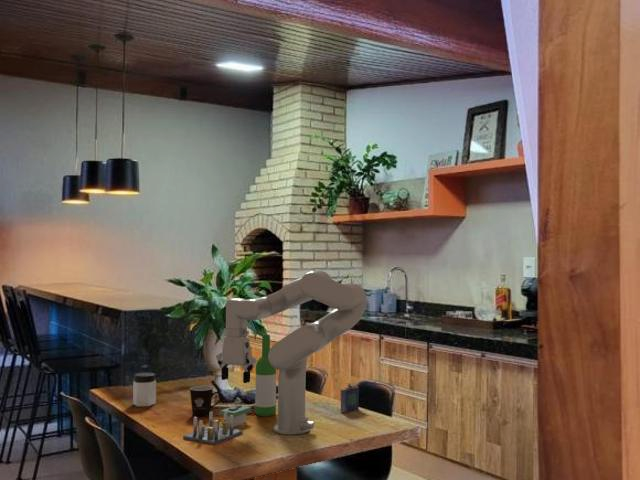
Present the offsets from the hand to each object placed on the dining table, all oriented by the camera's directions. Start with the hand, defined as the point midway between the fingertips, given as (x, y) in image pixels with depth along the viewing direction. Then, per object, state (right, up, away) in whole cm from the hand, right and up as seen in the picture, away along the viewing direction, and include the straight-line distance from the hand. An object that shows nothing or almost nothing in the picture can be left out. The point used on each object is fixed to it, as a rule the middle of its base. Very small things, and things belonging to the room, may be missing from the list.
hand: (235, 380), depth 229 cm
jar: (-41, -16, +29) cm, 52 cm away
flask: (+42, -16, +20) cm, 49 cm away
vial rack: (-5, -15, -15) cm, 22 cm away
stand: (0, -15, 0) cm, 15 cm away
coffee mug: (-13, -16, +12) cm, 24 cm away
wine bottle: (+10, -16, +14) cm, 23 cm away
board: (0, -11, 0) cm, 11 cm away
